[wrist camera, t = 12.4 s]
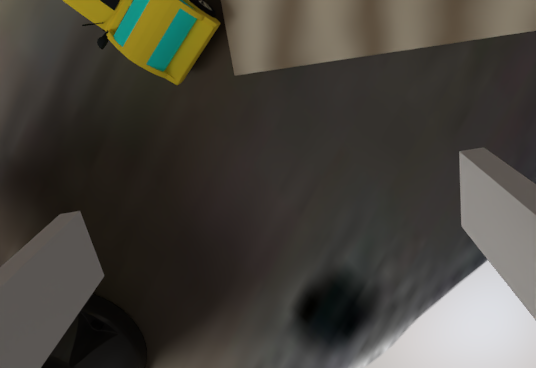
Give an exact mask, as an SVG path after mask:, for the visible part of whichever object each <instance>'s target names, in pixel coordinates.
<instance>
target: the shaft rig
mask: <svg viewBox="0 0 536 368" xmlns="http://www.w3.org/2000/svg"><path fill="white" fill-rule="evenodd" d="M221 4H222V10H223V15H224V21H225V26H226V32H227V37H228V43H229V48H230V54H231V59H232V65H233V70H234V76H236V75H243V74H249V73H256V72H263V71H270V70H276V69H283V68H290V67H296V66H303V65H310V64H316V63H323V62H330V61H336V60H343V59H350V58H356V57H363V56H370V55H376V54H383V53H390V52H397V51H403V50H410V49H417V48H423V47H430V46H437V45H443V44H450V43H457V42H463V41H470V40H477V39H483V38H490V37H497V36H504V35H510V34H517V33H524V32H530V31H536V0H221Z"/></svg>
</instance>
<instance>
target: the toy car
mask: <svg viewBox="0 0 536 368" xmlns="http://www.w3.org/2000/svg"><path fill="white" fill-rule="evenodd" d="M63 1H64V2H65V3H67V4H68V5H69V6H71V7H72V8H73V9H75V10H76V11H78V12H79V13H80V14H82V15H83V16H85V17H86V18H87V19H89V20H90V21H92V22H93V24H85V25H82V26H86V25H94V24H96V25H97V26H99V27H100V28H102V29H103V31H105V32H106V33H105V34H104V35H103V36H102V37H100V38H99V39H98V41H97V43H98V46H99V47H100V48H101V49H104V47H105V46H106V44H107V43H108V39H109V40H110V42H111V43H112V44H113V45H114V46H115V47H116V48H117V49H118V50H119V51H120V52H121V53H122V54H124V55H125V56H126V57H127V58H128V59H129V60H131V61H132V62H133V63H135V64H137V65H138V66H140V67H142V68H144V69H145V70H147V71H149V72H151V73H153V74H155V75H158V76H160V77H163V78H165V79H167V80H169V81H170V82H172V83H174V84H176V85H179V84H180V83H182V82H183V80H184V79H185V77H186V76H187V74H188V73H189V71H190V70H191V68H192V67H193V65H194V63H195V62H196V60H197V59H198V57H199V56H200V54H201V53H202V51H203V50H204V48H205V47H206V45H207V44H208V42H209V41H210V39H211V37H212V36H213V34H214V33H215V31H216V30H217V28H218V27H219V25H220V24H221V23H220V22H219V21H218V20H217V19H216V18H213V17H214V16H215V14H216V13H215V11H214V9H213V8H212V7H210V6H209V5H208V4H207V3H206V2H205V1H203V0H63ZM107 38H108V39H107Z"/></svg>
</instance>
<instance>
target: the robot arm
mask: <svg viewBox="0 0 536 368" xmlns="http://www.w3.org/2000/svg"><path fill="white" fill-rule="evenodd" d="M459 161H460V195H461V226H462V228H463V229H464V230H465V231H466V233H467V234H468V235H469V236H470V238H471V239H472V240H473V242H474V243H475V244H476V245H477V247H478V248H479V249H480V250H481V252H482V253H483V254H484V255H485V257H486V258H487V259H488V260H489V262H490V263H491V264H492V265H493V267H494V268H495V269H496V270H497V272H498V273H499V274H500V276H501V277H502V278H503V279H504V280H505V282H506V283H507V284H508V286H509V287H510V288H511V289H512V291H513V292H514V293H515V294H516V296H517V297H518V298H519V299H520V301H521V302H522V303H523V305H524V306H525V307H526V308H527V310H528V311H529V312H530V313H531V315H532V316H533V317H534V318H535V320H536V184H535V183H533V182H532V181H530V180H529V179H528V178H526V177H525V176H523V175H522V174H520V173H519V172H518V171H516V170H515V169H513V168H512V167H511V166H509V165H508V164H506V163H505V162H504V161H502V160H501V159H499V158H498V157H497V156H495V155H494V154H492V153H491V152H490V151H488V150H487V149H485V148H484V147H483V148H476V149H470V150H464V151H459ZM103 277H104V273H103V271H102V268H101V265H100V263H99V260H98V257H97V255H96V252H95V249H94V247H93V244H92V241H91V239H90V236H89V233H88V231H87V228H86V225H85V223H84V220H83V217H82V215H81V212H80V211H76V212H70V213H63V214H60V215H58V216H57V217H56V218H55V219H54V220H53V221H52V222H51V223H49V224H48V225H47V226H46V227H45V228H44V229H43V230H42V231H41V232H39V233H38V234H37V235H36V236H35V237H34V238H33V239H32V240H30V241H29V242H28V243H27V244H26V245H25V246H24V247H23V248H21V249H20V250H19V251H18V252H17V253H16V254H15V255H14V256H13V257H11V258H10V259H9V260H8V261H7V262H6V263H5V264H4V265H2V266H1V267H0V368H144V367H145V364H146V358H147V351H146V345H145V341H144V339H143V336H142V334H141V332H140V330H139V329H138V327H137V326H136V324H135V323H134V322H133V321H132V319H131V318H130V317H129V316H128V315H127V314H126V313H125V312H123V311H122V310H121V309H120V308H118V307H117V306H115V305H114V304H112V303H111V302H109V301H107V300H105V299H103V298H101V297H98V296H96V295H93V294H92V293H93V292H94V290H95V289H96V288H97V286H98V285H99V283H100V282H101V280H102V279H103Z"/></svg>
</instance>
